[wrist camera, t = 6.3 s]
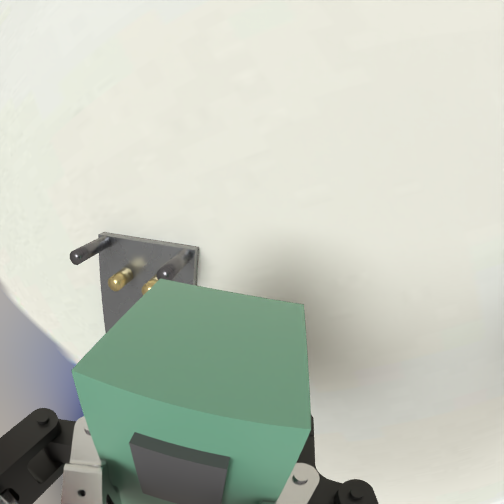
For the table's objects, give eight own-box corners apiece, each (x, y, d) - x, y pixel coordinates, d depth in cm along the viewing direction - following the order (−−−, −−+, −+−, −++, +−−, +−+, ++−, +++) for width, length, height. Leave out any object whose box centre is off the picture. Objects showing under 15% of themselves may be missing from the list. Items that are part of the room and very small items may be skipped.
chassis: (103, 231, 28) (67, 249, 22) (198, 246, 27) (175, 270, 22) (112, 348, 32) (87, 378, 27) (192, 369, 32) (175, 406, 26)
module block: (160, 278, 12) (58, 384, 5) (303, 304, 11) (311, 450, 5) (164, 438, 15) (125, 530, 8) (261, 458, 14) (246, 560, 8)
